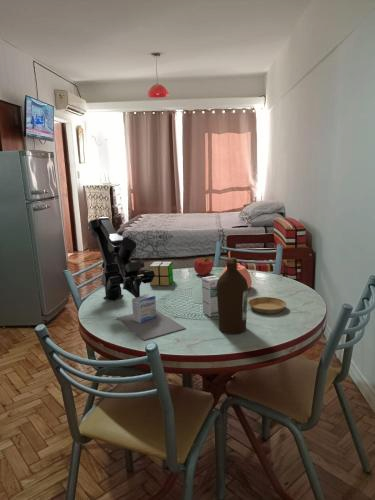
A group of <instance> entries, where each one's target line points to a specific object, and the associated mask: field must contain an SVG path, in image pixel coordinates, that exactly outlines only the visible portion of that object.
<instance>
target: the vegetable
mask: <svg viewBox="0 0 375 500" xmlns="http://www.w3.org/2000/svg"><path fill="white" fill-rule="evenodd" d="M210 259H211V260H210ZM214 259H215V257H213V256H207V257H206V258H205V257H200V258H196V259H195V261H194V264H193V267H194V269H193V270H194V271H195V273H196V274H197V275H199V276H201V277H204V276H205V275H210V274H211V272H212V270H213V267H214V263H213V261H212V260H214Z"/></svg>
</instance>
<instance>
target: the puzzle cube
mask: <svg viewBox="0 0 375 500" xmlns="http://www.w3.org/2000/svg"><path fill="white" fill-rule="evenodd" d="M173 266H174V265H173V261H153V262H151V264H150V265H149V266H148V270H153V271H154V273H155V277H154V279H153V280H152V282H150V283H149V286H151V285H154V286H165V287H166V286H167V287H169V286H171V285H172V282H173V281H174V273H173V270H174V269H173ZM154 286H153V287H154Z"/></svg>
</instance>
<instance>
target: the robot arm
mask: <svg viewBox="0 0 375 500" xmlns="http://www.w3.org/2000/svg"><path fill="white" fill-rule="evenodd" d="M87 227H88V231H90V234H91V236H93V238H95V240H96V242H97V245H98V248H99V251H100V255H101V259H102V261H103V264H104V265H103V266H104V267H103V270H102V275H101V280H100V282H101V285H102V286H103V287H104V291H105V292H104V293H105V296H104V297H103V299H104V300H110V301H116V300H118V299H120V298H122V297H124V294H122V293H123V292H122V289H123V290H125V291H127V292H128V293H130V294H131V296H133V297H134V298H137V297H140V296H141V294H140V293H141V291H140V290H141V289H140V288H141V284H142V283H143V284H150V282H152V280H153V279H154V277H155V273H154V271H153V270H149V269H148V270H144V271H143V273H142V274H141V275H138V274H139V273H140V271H141V270H142V269H143V268H145V266H146V265H145V261H144V260H143V259H138V260H137V261H132V259H131V258H132V257H133V256H134V254H135V250H136V248H137V242H136V241H135V240H133V239H131V238H129V236H122V235H120V234H118V233H117V231H116V229H115V227H114V226H113V224H112V222H111V221H110V217H108V216H103V217H98V218H96V219H90V220H89V221H88V223H87ZM114 254H115V258H114ZM121 285H122V286H121Z"/></svg>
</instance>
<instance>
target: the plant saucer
mask: <svg viewBox="0 0 375 500" xmlns="http://www.w3.org/2000/svg"><path fill="white" fill-rule="evenodd" d="M247 305H248V306H250V308H252V309H253V311H255V312H258V313H260V314H261V313H262V314H276V313H280V312H281V311H282V310H284V308H286V306H287V303H286V301H285V300H283V299H281V298H277V297H271V296H269V297H267V296H260V297H255V298H251V299H249V300H248V301H247Z"/></svg>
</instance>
